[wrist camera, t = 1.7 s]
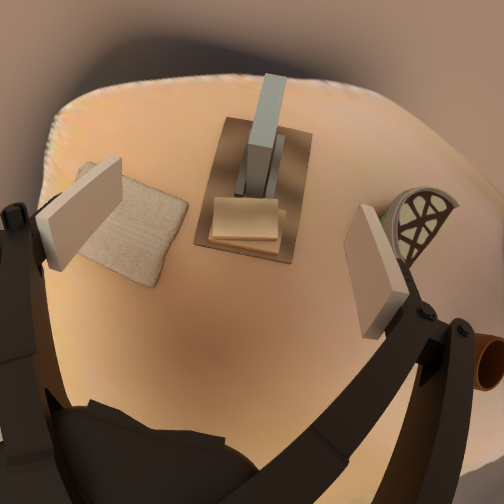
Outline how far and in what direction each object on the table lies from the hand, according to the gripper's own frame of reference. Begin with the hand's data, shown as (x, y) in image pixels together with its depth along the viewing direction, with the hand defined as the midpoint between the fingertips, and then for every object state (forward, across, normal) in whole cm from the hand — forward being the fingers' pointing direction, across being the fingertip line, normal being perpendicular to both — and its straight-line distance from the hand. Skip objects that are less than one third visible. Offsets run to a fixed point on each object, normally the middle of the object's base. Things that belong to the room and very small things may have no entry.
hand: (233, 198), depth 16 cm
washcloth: (+17, -17, -15) cm, 28 cm away
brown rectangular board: (+22, +1, -9) cm, 23 cm away
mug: (+9, +33, -21) cm, 40 cm away
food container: (+20, +19, -11) cm, 29 cm away
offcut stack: (+17, +1, -13) cm, 21 cm away
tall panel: (+22, +1, -7) cm, 23 cm away
